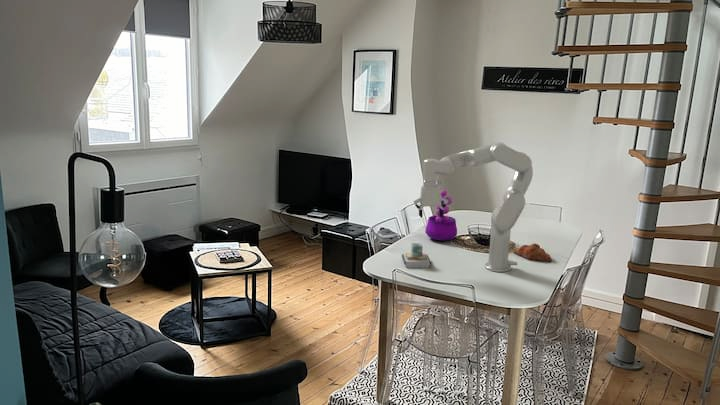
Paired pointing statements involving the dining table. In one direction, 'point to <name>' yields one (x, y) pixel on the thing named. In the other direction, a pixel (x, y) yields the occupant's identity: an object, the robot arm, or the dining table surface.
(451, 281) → the dining table surface
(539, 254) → the pastry
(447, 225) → the decorative plant
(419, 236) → the dining table surface
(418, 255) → the pallet
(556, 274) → the dining table surface
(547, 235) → the dining table surface
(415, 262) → the dock
